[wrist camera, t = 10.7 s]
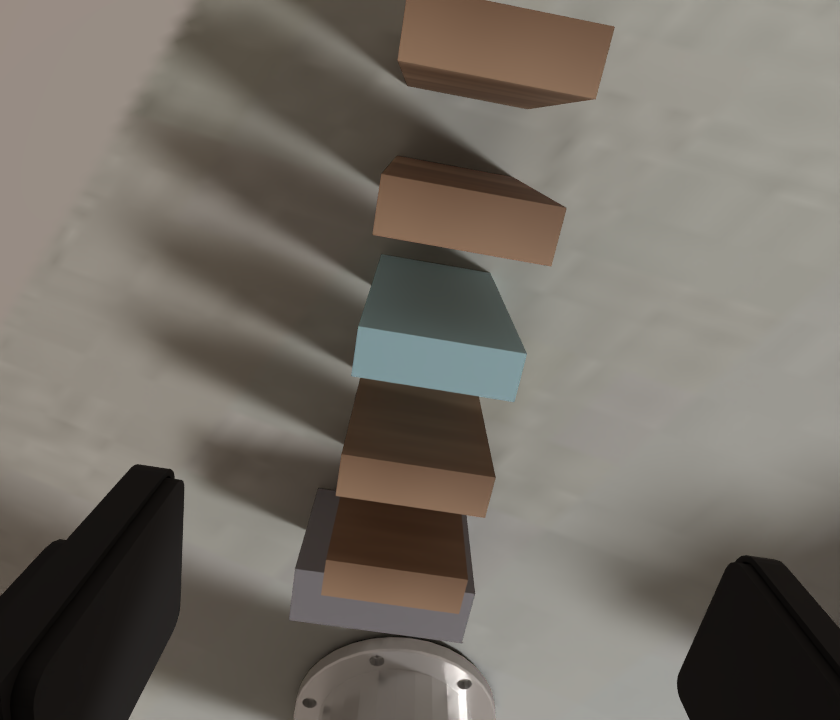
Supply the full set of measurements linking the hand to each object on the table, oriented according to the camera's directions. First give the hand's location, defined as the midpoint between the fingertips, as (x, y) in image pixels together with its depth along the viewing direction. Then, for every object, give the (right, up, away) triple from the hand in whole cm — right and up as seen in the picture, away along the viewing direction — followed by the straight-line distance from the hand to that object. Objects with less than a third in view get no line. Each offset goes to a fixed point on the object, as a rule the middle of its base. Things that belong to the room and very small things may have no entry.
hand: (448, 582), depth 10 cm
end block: (-2, -5, +22) cm, 22 cm away
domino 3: (0, +7, +17) cm, 18 cm away
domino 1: (+2, +15, +13) cm, 20 cm away
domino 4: (-1, +3, +18) cm, 18 cm away
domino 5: (-1, 0, +20) cm, 20 cm away
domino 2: (+1, +11, +15) cm, 19 cm away
